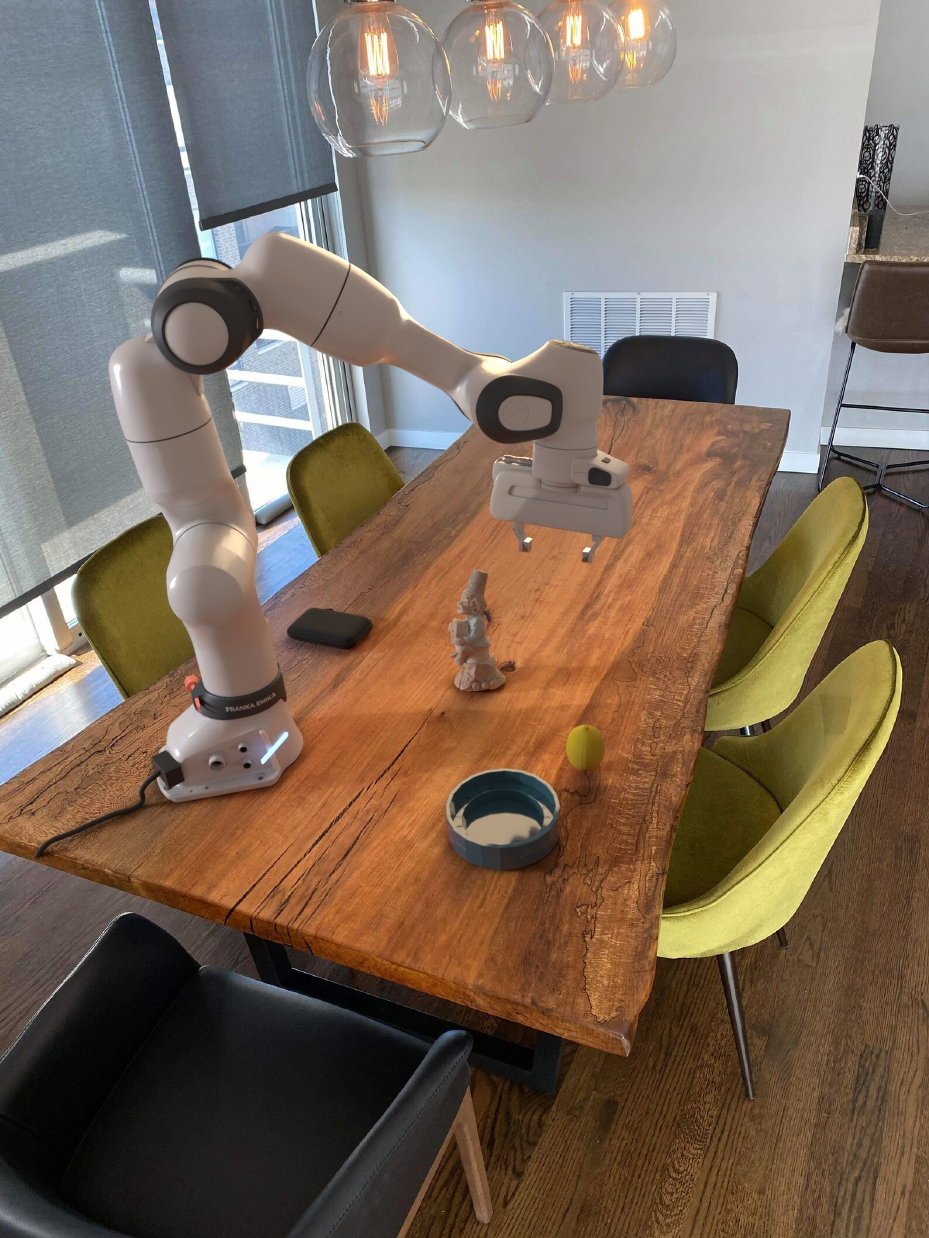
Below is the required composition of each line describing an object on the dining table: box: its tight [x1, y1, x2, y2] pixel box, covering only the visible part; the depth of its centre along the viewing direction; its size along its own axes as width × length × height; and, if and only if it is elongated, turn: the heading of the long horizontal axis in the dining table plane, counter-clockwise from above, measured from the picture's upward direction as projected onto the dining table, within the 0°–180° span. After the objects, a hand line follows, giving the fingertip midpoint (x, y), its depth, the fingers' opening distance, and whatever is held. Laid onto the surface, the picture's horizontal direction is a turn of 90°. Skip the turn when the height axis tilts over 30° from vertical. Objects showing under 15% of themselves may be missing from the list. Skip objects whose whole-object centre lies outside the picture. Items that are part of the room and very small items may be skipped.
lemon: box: [565, 724, 606, 772], centre depth 132 cm, size 6×6×8 cm
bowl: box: [444, 767, 561, 871], centre depth 123 cm, size 15×15×4 cm
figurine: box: [447, 568, 506, 692], centre depth 150 cm, size 9×8×20 cm
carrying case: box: [286, 607, 374, 651], centre depth 170 cm, size 11×3×15 cm
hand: (556, 556), depth 132 cm, fingers open, 8 cm apart
